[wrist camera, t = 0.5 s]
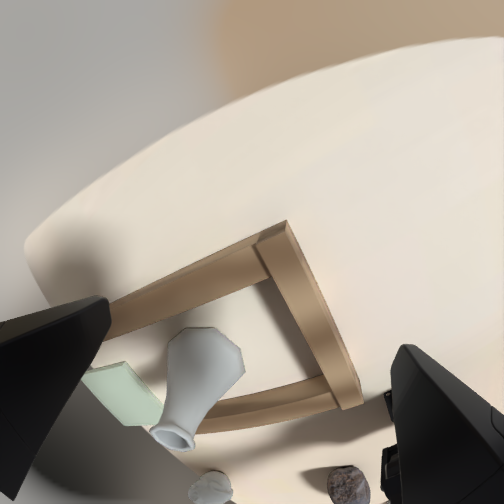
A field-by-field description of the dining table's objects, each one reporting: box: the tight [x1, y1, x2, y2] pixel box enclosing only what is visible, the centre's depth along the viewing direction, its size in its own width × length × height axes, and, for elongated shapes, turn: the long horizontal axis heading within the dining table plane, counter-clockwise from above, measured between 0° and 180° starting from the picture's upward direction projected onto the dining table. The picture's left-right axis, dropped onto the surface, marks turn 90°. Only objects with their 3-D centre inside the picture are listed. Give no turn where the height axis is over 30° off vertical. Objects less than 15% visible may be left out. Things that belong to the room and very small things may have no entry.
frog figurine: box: [188, 471, 233, 504], centre depth 32 cm, size 6×7×7 cm
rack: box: [103, 220, 364, 434], centre depth 24 cm, size 17×21×3 cm
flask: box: [149, 328, 246, 452], centre depth 21 cm, size 7×7×10 cm
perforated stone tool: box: [327, 467, 370, 504], centre depth 29 cm, size 15×5×7 cm, turn 25°
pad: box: [81, 361, 164, 426], centre depth 30 cm, size 10×10×1 cm
